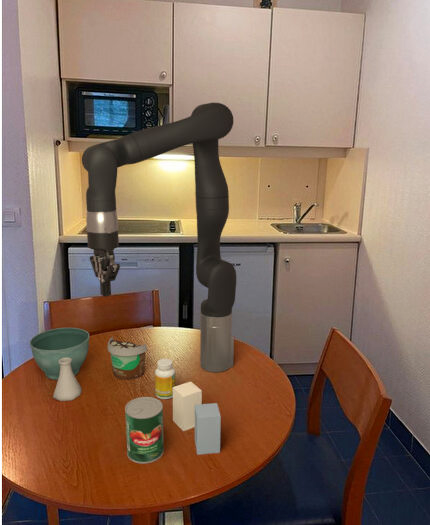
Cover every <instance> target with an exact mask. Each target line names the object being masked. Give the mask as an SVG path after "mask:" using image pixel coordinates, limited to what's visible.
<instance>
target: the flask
mask: <svg viewBox="0 0 430 525" xmlns="http://www.w3.org/2000/svg"><path fill="white" fill-rule="evenodd" d="M71 361H72V359H71V358H62V359H60V360H59V364H60V374H59V378H58V380H57V382H56V387H55V390H54V392H53V396H52V398H53V399H55V400H58V401H61V402H65V401H73V400H75V399H76V398H78V397H79V396H81V394H82V390H83V389H82V387H81V384H80V383H79V382H78V380H77V378H76V375H74V373H73V371H72V368H71Z"/></svg>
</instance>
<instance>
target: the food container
mask: <svg viewBox="0 0 430 525" xmlns="http://www.w3.org/2000/svg"><path fill="white" fill-rule="evenodd" d="M106 349H107V351H108V352H109V353H110V358H111V359H110V360H111V367H112V372H113V376H114V377H115V378H116V379H119V380H123V381H131V380H135V379H138V378H140V377H143V376H144V375H145V363H146V362H145V360H146V352H147V351H148V346H147V343H144V344H142V345H140V344H136V343H134V342H130V341H121V340H115V339H114V338H113V336H112V337H110V338H109V340H108V342H107V348H106Z"/></svg>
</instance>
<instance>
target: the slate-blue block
mask: <svg viewBox="0 0 430 525" xmlns="http://www.w3.org/2000/svg"><path fill="white" fill-rule="evenodd" d="M221 420H222V417H221V413H220V409H219V405H218V403H217V402H215V403H202V404H198V405H195V427H194V444H195V450H196V455H209V454H220V453H221Z"/></svg>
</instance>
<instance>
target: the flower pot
mask: <svg viewBox="0 0 430 525" xmlns="http://www.w3.org/2000/svg"><path fill="white" fill-rule="evenodd" d="M89 343H90V333H89V332H88V331H87V330H85V329H82V328H78V327H58V328H52V329H48V330H45V331H42V332H40V333H37V334H35V335H34V336H33V337H32V338H31V339H30V340H29V346H30V348H31V349H30V350H31V354H32V356H33V359H34V361H35V363H36V365H37V367H38V368H39V370H41V371H42V372H44V375H45V376H46V378H48V379H50V380H57V381H58V378H59V374H60V364H59V360H60V359H62V358H71V359H72V361H71V368H72V371H73V373H74V375H75V376H76V375H77V374H78V373H79V372H80V370H81V367H82V365H83V364H84V362H85V361H86V358H87V356H88V352H89V347H90V346H89V345H90V344H89Z"/></svg>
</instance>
